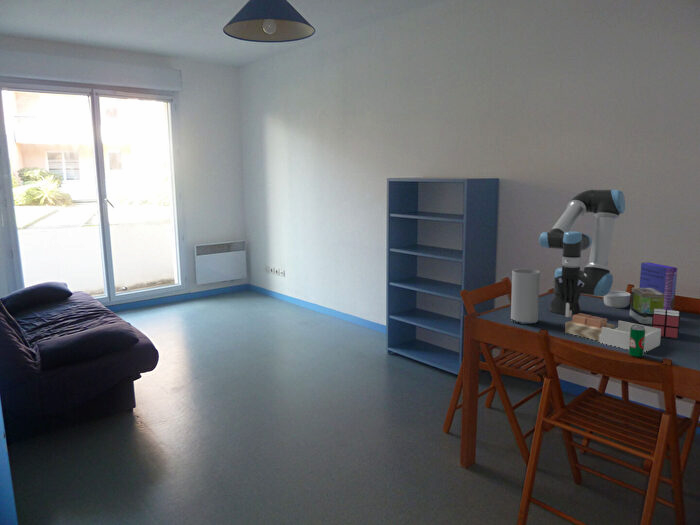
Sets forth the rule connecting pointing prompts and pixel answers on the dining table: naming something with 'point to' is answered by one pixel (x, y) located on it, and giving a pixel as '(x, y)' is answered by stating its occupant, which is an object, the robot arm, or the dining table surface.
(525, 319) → the cylinder vase
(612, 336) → the box
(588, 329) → the birch plate
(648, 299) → the tea box
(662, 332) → the puzzle cube
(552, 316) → the dining table surface
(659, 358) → the dining table surface
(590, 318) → the front tile
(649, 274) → the cereal box
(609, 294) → the ramekin
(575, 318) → the rear tile
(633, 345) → the soda can
